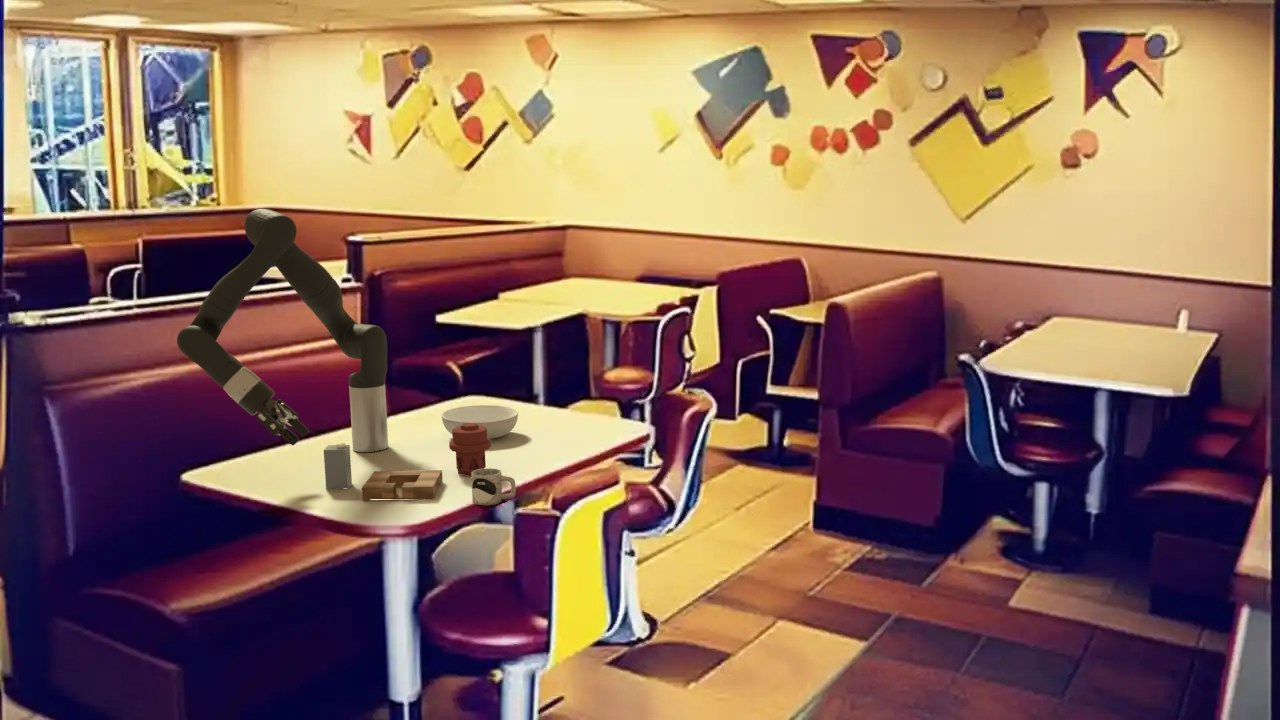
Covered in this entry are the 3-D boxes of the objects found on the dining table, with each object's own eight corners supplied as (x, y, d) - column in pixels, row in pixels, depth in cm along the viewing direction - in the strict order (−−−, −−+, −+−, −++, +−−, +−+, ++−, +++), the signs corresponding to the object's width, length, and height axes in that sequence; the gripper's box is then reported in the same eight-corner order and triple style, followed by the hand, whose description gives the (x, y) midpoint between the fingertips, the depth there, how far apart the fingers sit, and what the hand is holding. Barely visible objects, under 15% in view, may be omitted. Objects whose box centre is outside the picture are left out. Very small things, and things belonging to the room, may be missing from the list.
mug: (468, 504, 260) (467, 475, 259) (477, 496, 267) (476, 467, 266) (511, 506, 259) (510, 477, 258) (520, 497, 265) (519, 469, 264)
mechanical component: (442, 475, 285) (472, 466, 292) (470, 481, 278) (500, 472, 286) (439, 425, 282) (470, 418, 290) (468, 431, 276) (498, 423, 284)
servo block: (330, 484, 278) (328, 442, 276) (351, 483, 278) (349, 441, 276) (326, 489, 274) (323, 446, 272) (347, 489, 274) (345, 446, 272)
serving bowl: (441, 448, 311) (440, 422, 310) (444, 430, 332) (442, 406, 330) (519, 444, 314) (519, 419, 313) (517, 426, 334) (517, 403, 333)
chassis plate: (374, 483, 278) (374, 471, 277) (442, 482, 278) (441, 470, 278) (362, 500, 264) (361, 487, 264) (433, 499, 265) (432, 486, 264)
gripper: (249, 385, 264) (304, 434, 266) (268, 373, 278) (320, 420, 280) (228, 408, 265) (282, 457, 267) (247, 396, 279) (299, 442, 281)
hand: (301, 438), depth 274 cm, fingers open, 8 cm apart
